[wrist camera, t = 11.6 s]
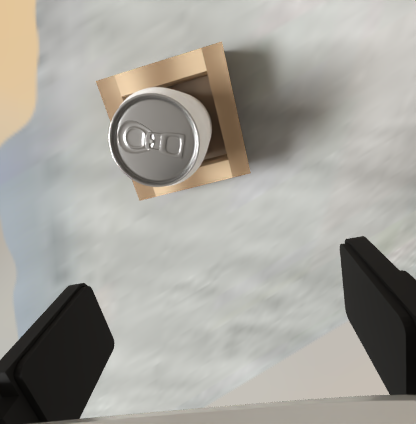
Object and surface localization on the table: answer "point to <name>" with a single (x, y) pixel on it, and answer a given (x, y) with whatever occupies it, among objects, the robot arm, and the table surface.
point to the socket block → (200, 89)
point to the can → (160, 136)
